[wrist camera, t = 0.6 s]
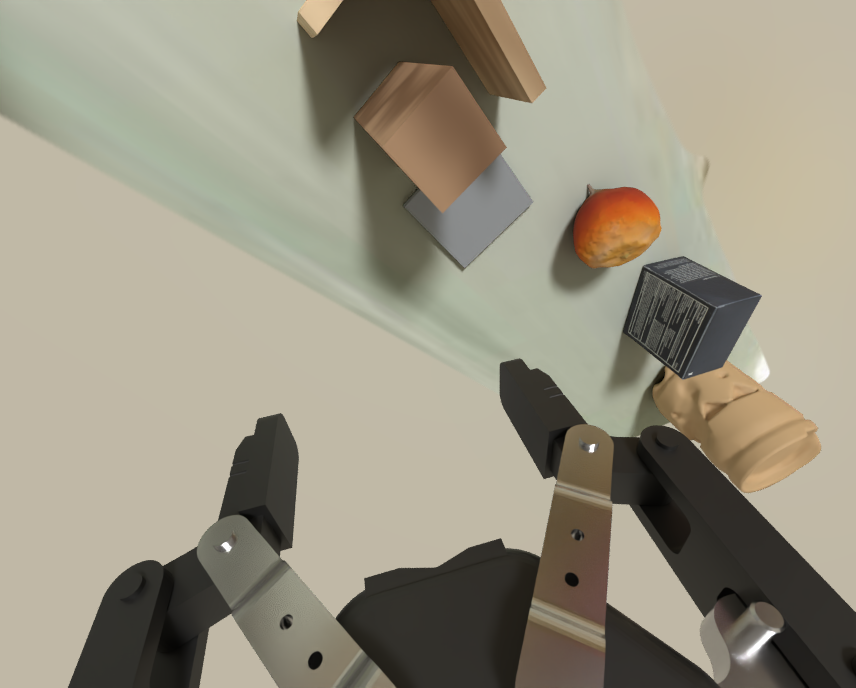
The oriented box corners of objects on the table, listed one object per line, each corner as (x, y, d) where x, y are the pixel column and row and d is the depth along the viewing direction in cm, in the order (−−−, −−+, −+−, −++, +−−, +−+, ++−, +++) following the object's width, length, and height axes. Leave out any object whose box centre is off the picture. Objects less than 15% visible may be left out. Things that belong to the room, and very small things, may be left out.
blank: (398, 167, 32) (442, 213, 22) (353, 117, 28) (382, 147, 19) (441, 118, 30) (506, 147, 21) (398, 61, 27) (452, 65, 18)
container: (691, 336, 58) (815, 424, 44) (724, 358, 64) (841, 440, 50) (631, 393, 63) (726, 489, 49) (667, 408, 69) (760, 496, 55)
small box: (660, 322, 54) (725, 369, 46) (620, 332, 53) (679, 382, 45) (687, 254, 47) (767, 295, 39) (642, 264, 46) (715, 308, 38)
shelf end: (423, 166, 32) (449, 189, 27) (296, 20, 24) (298, 11, 19) (501, 81, 30) (546, 88, 24) (388, -108, 22) (418, -158, 17)
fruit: (656, 160, 36) (693, 227, 34) (605, 216, 43) (633, 275, 41) (584, 161, 34) (618, 232, 32) (544, 220, 41) (568, 282, 39)
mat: (402, 205, 33) (404, 207, 33) (478, 124, 31) (480, 125, 31) (462, 265, 39) (464, 268, 38) (530, 200, 37) (533, 201, 36)
